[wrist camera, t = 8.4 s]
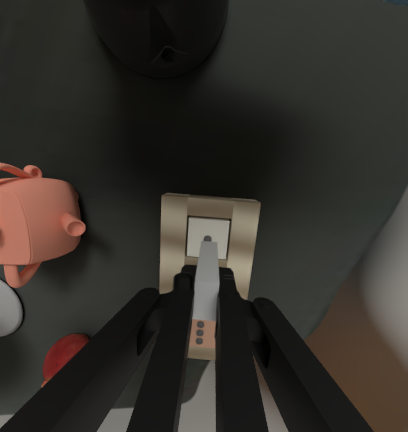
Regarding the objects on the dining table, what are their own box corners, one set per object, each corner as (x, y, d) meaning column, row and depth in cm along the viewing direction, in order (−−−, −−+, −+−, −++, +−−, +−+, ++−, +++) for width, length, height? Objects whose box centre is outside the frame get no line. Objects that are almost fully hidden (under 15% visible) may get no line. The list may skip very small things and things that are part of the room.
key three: (186, 301, 29) (183, 316, 26) (218, 304, 29) (219, 320, 26) (184, 328, 30) (181, 346, 27) (215, 331, 30) (216, 349, 27)
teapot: (116, 215, 27) (66, 238, 18) (63, 263, 29) (-8, 307, 20) (55, 150, 25) (-38, 137, 16) (3, 206, 27) (-107, 224, 18)
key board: (167, 192, 26) (161, 195, 23) (255, 199, 26) (260, 203, 23) (162, 337, 31) (157, 354, 28) (235, 344, 31) (238, 362, 28)
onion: (109, 336, 32) (75, 390, 24) (89, 355, 33) (50, 412, 25) (81, 315, 31) (37, 363, 23) (61, 335, 32) (13, 387, 24)
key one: (191, 213, 26) (188, 218, 23) (227, 216, 26) (229, 221, 23) (189, 247, 27) (186, 256, 24) (224, 249, 27) (225, 260, 24)
